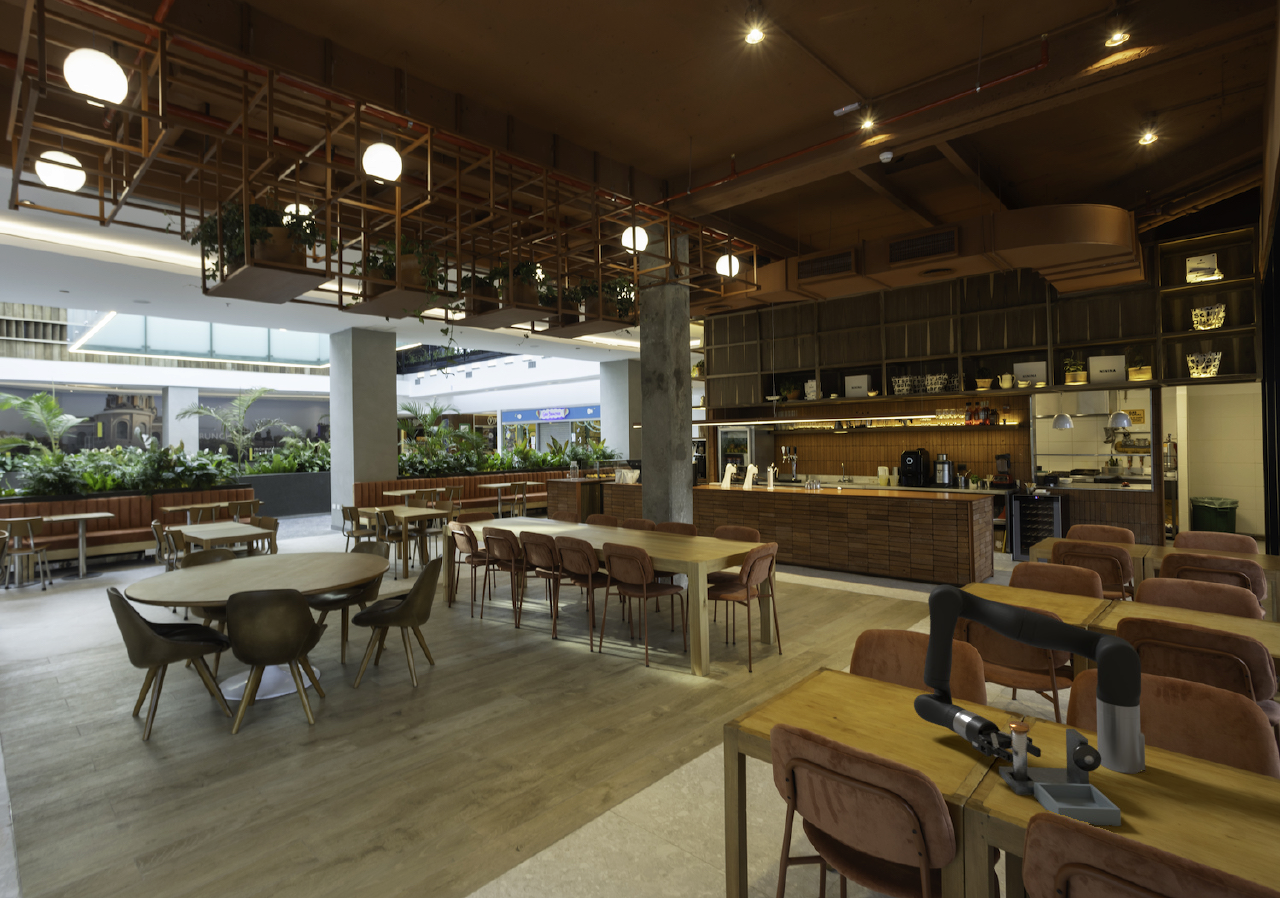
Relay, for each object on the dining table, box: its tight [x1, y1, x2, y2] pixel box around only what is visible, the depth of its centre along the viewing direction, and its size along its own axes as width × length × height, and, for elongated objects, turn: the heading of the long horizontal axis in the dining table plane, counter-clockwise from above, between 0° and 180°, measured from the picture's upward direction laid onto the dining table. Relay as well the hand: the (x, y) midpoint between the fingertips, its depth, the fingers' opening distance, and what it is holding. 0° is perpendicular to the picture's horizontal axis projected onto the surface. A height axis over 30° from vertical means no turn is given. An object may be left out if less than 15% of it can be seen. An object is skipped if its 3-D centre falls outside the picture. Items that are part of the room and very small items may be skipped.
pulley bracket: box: [998, 728, 1101, 796], centre depth 162 cm, size 20×10×13 cm, turn 84°
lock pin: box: [1008, 720, 1030, 781], centre depth 163 cm, size 4×4×15 cm
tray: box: [1033, 783, 1122, 827], centre depth 151 cm, size 13×11×4 cm
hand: (1026, 756), depth 161 cm, fingers open, 8 cm apart
